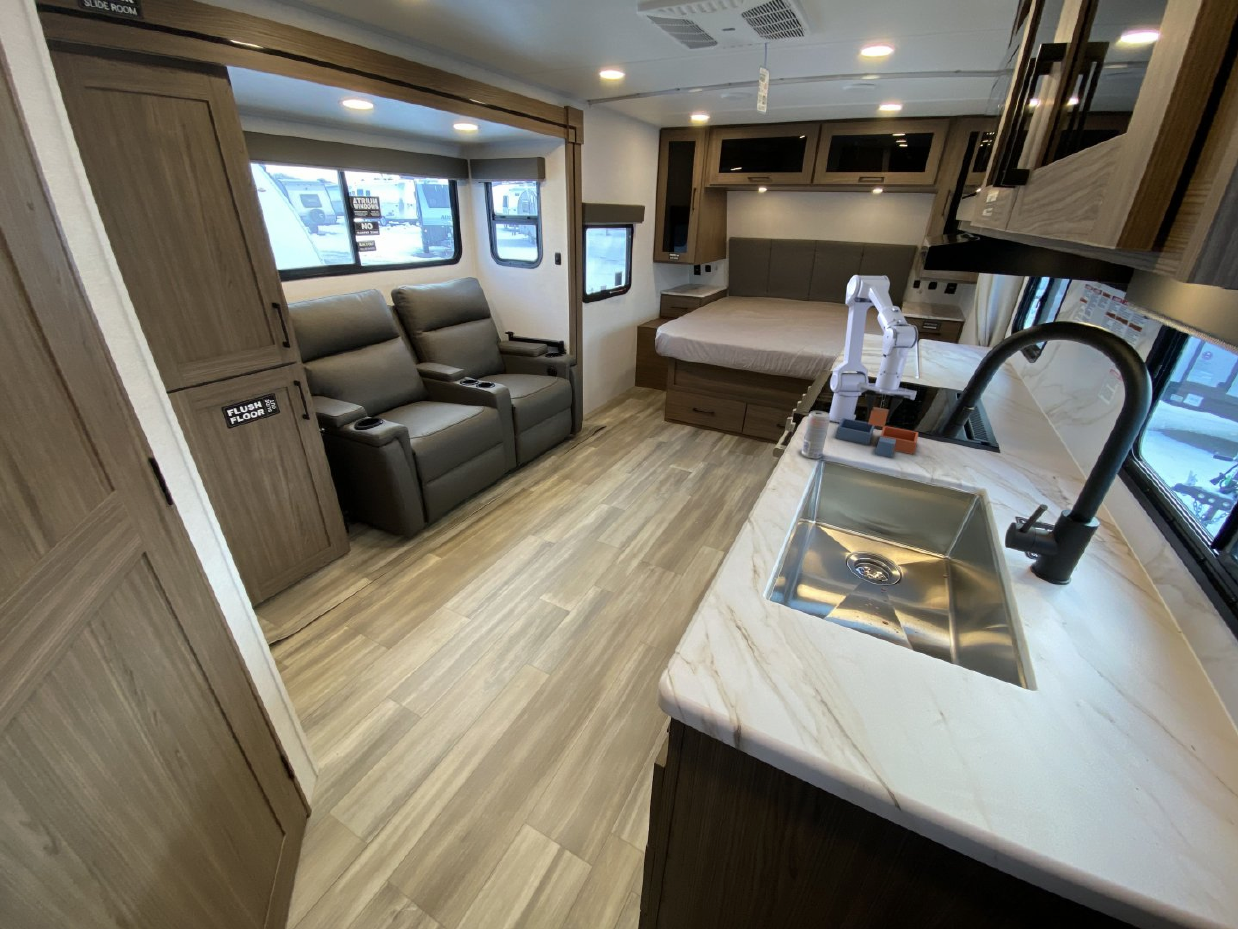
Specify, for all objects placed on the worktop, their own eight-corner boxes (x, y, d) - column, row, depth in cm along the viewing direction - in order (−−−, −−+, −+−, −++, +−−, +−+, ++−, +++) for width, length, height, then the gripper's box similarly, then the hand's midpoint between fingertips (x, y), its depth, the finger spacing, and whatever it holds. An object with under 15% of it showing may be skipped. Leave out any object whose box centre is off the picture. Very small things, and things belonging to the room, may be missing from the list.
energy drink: (818, 451, 138) (827, 410, 133) (823, 459, 133) (833, 418, 128) (799, 450, 138) (807, 409, 133) (803, 458, 134) (812, 416, 128)
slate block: (876, 449, 140) (880, 436, 138) (892, 452, 138) (896, 439, 136) (875, 454, 137) (878, 441, 135) (891, 457, 135) (894, 444, 133)
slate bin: (840, 428, 154) (842, 417, 152) (872, 434, 150) (875, 424, 148) (835, 438, 147) (837, 427, 145) (868, 445, 143) (871, 433, 141)
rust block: (870, 420, 141) (873, 406, 140) (885, 422, 139) (889, 409, 138) (868, 424, 138) (871, 410, 136) (883, 427, 136) (887, 413, 135)
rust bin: (880, 436, 149) (883, 425, 147) (915, 443, 144) (918, 432, 143) (877, 446, 142) (880, 435, 140) (913, 454, 137) (916, 442, 136)
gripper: (859, 370, 133) (848, 417, 139) (920, 379, 126) (905, 428, 132) (863, 364, 138) (852, 410, 144) (922, 373, 131) (907, 420, 137)
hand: (877, 418), depth 138 cm, fingers closed on rust block, 4 cm apart
